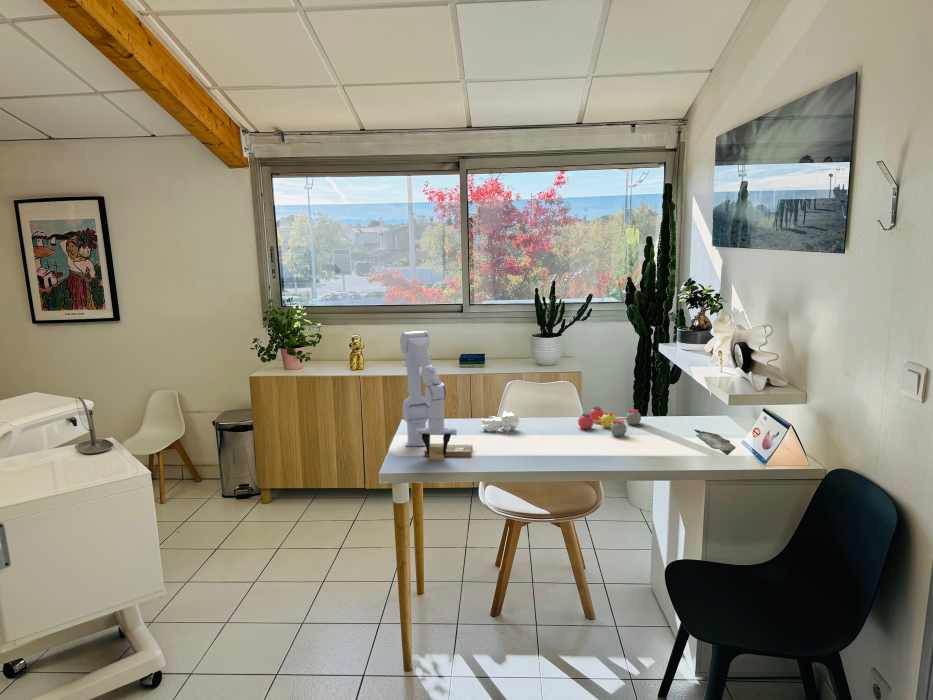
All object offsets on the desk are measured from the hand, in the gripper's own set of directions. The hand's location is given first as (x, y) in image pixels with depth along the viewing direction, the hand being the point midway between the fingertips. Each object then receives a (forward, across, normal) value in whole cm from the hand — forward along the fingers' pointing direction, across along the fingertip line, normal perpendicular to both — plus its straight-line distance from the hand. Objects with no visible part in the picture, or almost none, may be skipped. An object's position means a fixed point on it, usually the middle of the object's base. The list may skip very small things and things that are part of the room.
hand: (437, 454), depth 235 cm
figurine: (+2, +22, +36) cm, 42 cm away
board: (+2, +4, +6) cm, 7 cm away
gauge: (+2, 0, +2) cm, 2 cm away
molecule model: (+2, +67, +41) cm, 79 cm away
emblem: (+2, +105, +23) cm, 108 cm away
